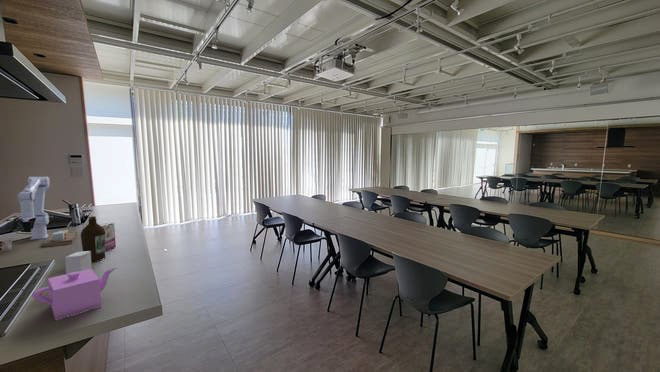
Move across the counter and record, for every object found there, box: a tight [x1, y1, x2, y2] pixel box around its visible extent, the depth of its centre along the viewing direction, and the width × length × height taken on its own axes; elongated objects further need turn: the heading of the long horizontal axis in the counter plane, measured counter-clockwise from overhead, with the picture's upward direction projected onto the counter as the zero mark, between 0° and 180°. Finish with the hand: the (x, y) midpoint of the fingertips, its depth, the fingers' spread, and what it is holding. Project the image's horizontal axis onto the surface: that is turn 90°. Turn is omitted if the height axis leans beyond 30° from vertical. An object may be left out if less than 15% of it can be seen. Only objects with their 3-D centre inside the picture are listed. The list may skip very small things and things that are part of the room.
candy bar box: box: [99, 222, 117, 251], centre depth 171 cm, size 11×5×16 cm, turn 179°
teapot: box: [31, 267, 117, 321], centre depth 108 cm, size 15×25×14 cm, turn 141°
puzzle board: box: [41, 229, 78, 248], centre depth 188 cm, size 24×14×4 cm, turn 37°
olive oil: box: [80, 215, 107, 263], centre depth 155 cm, size 11×11×25 cm
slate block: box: [51, 231, 65, 241], centre depth 183 cm, size 5×5×6 cm
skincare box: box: [64, 250, 93, 274], centre depth 126 cm, size 8×6×15 cm
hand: (29, 230), depth 178 cm, fingers open, 7 cm apart
